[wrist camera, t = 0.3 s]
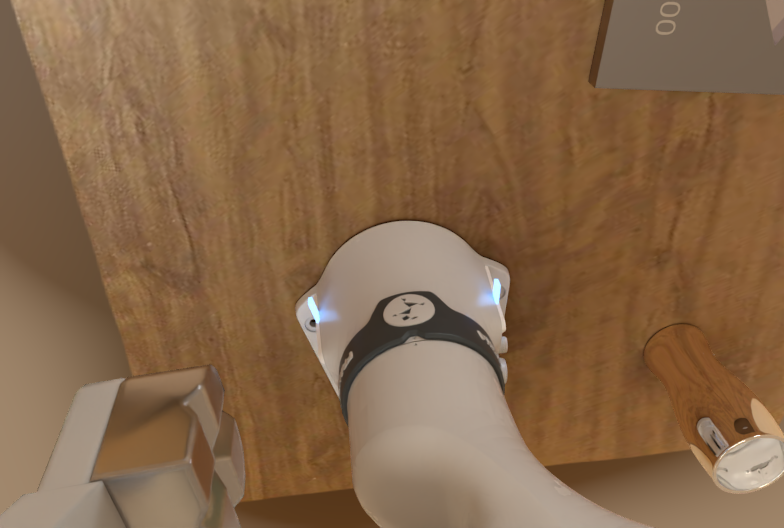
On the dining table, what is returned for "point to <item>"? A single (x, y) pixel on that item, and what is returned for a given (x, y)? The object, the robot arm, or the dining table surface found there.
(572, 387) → the dining table surface
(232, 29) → the dining table surface
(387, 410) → the robot arm
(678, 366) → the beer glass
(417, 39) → the dining table surface
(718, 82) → the play button award
